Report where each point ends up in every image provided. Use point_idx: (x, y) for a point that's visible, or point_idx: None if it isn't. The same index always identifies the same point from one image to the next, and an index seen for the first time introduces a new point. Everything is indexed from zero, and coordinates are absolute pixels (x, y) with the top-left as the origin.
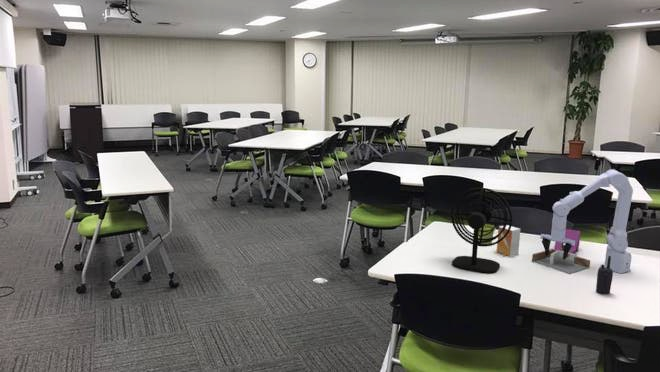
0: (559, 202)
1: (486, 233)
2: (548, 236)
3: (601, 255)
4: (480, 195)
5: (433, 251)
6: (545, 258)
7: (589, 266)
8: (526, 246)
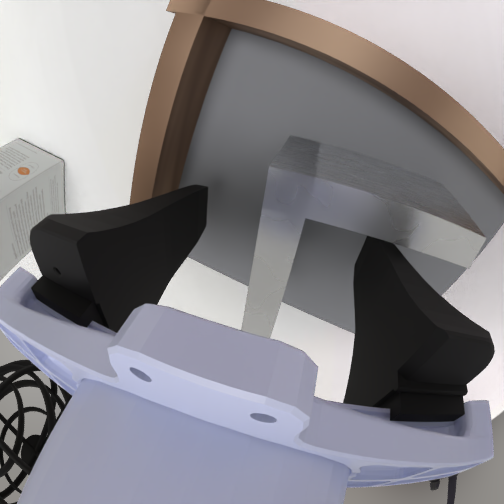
0: None
1: None
2: (65, 372)
3: None
4: (3, 495)
5: (5, 276)
6: (198, 136)
7: None
8: None
